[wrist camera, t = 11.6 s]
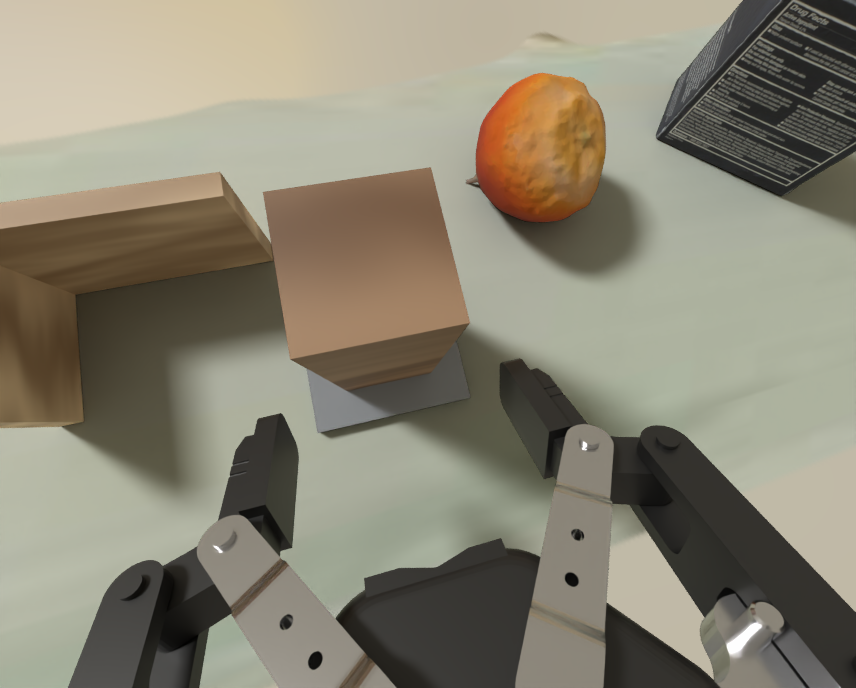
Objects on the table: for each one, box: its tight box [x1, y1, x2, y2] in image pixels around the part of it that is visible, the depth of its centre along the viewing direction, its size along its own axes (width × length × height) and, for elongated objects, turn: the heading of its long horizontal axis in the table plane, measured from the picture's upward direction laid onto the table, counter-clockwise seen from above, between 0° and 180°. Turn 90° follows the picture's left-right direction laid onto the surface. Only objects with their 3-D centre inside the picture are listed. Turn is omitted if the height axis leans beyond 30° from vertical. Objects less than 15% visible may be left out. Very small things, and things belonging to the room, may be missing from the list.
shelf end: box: [0, 172, 274, 428], centre depth 19 cm, size 9×13×7 cm
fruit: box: [466, 73, 606, 222], centre depth 23 cm, size 8×8×8 cm
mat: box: [307, 340, 471, 433], centre depth 23 cm, size 9×9×1 cm
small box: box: [656, 0, 856, 196], centre depth 23 cm, size 11×6×10 cm, turn 65°
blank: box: [263, 167, 470, 391], centre depth 17 cm, size 5×5×12 cm
